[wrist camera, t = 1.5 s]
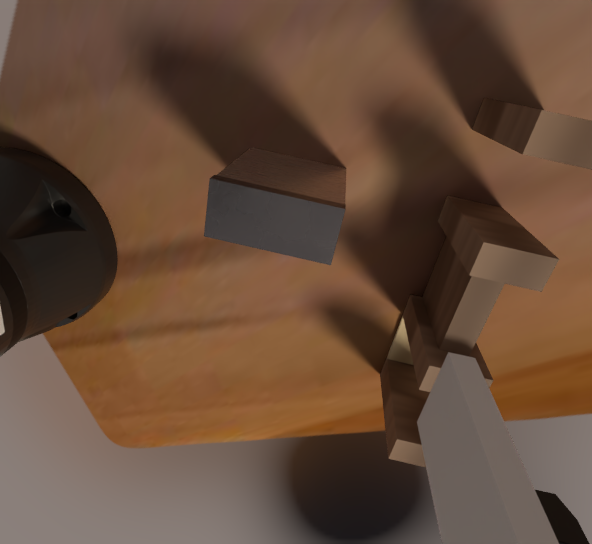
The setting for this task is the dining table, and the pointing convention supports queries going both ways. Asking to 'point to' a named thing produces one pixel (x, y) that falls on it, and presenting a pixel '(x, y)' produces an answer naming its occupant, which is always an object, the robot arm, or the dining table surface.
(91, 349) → the dining table surface
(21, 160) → the robot arm
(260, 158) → the bracket plate
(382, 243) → the dining table surface
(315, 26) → the dining table surface
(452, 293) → the brown long notched block
